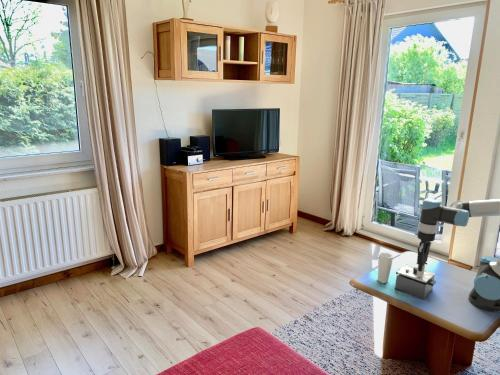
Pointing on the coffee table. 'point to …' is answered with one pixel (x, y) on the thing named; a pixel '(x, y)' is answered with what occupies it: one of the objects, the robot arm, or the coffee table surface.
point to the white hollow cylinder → (384, 267)
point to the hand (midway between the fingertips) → (419, 276)
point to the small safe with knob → (414, 286)
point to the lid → (415, 273)
